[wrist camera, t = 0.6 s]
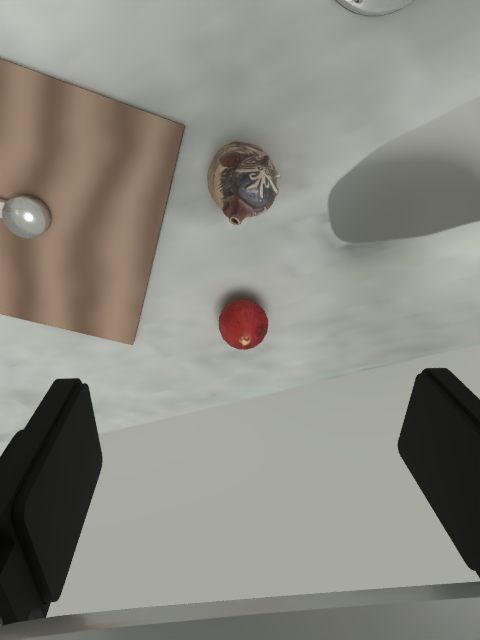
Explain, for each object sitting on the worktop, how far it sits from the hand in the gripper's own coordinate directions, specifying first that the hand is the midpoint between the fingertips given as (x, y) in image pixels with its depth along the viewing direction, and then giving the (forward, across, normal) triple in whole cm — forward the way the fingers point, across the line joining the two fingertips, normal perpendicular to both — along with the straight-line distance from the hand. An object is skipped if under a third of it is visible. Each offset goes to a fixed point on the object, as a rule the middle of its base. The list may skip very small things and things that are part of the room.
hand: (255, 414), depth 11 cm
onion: (+34, -3, +13) cm, 37 cm away
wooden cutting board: (+34, +20, 0) cm, 40 cm away
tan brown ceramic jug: (+34, -2, -3) cm, 34 cm away
